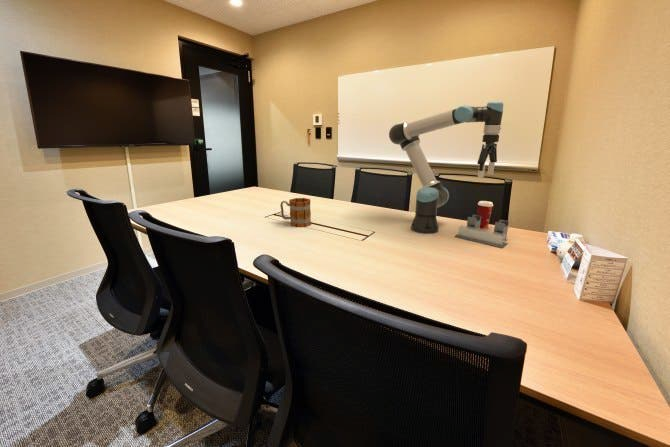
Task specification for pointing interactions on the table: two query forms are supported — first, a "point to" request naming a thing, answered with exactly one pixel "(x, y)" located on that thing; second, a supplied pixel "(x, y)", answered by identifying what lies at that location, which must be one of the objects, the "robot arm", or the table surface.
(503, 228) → the post
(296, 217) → the mug
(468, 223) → the post
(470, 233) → the rail
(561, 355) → the table surface
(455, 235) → the gray base plate
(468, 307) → the table surface
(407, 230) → the table surface
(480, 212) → the coffee cup
